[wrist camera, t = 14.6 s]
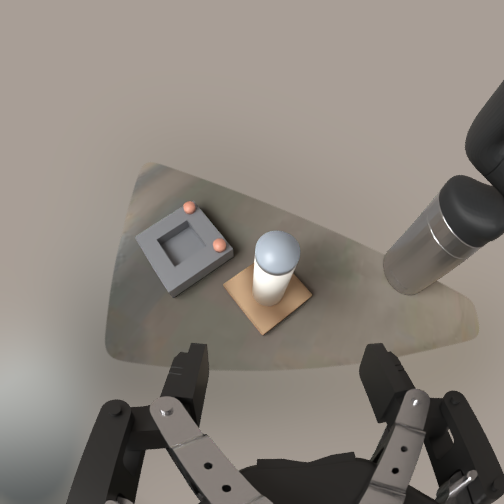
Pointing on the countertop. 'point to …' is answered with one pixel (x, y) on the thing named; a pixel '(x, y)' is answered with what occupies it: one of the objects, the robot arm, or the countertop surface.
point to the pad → (261, 314)
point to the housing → (184, 248)
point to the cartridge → (274, 266)
